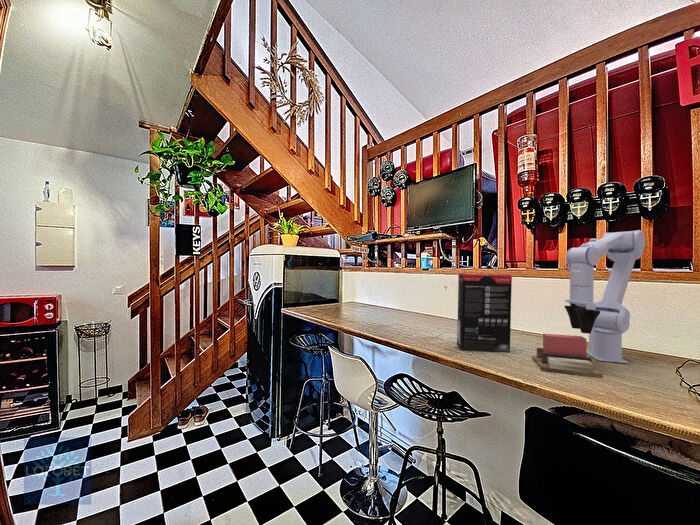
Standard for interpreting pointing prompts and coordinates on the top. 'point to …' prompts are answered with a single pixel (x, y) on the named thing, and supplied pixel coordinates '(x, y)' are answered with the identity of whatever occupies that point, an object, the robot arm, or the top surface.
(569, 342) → the red rectangular block
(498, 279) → the graphics card box
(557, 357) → the rack
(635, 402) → the top surface
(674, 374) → the top surface
